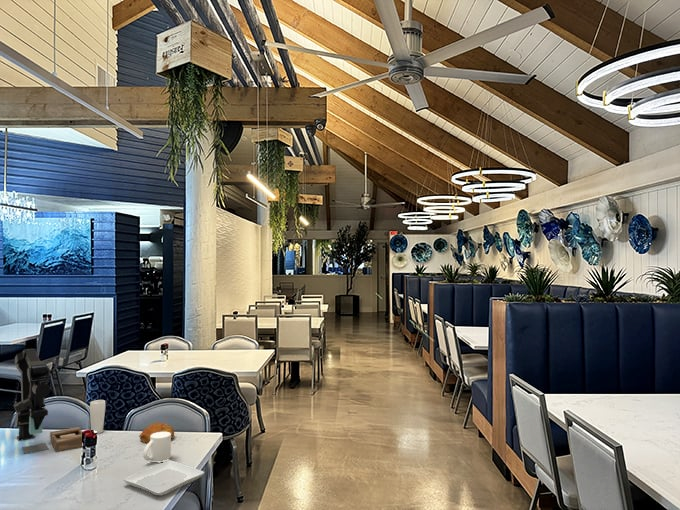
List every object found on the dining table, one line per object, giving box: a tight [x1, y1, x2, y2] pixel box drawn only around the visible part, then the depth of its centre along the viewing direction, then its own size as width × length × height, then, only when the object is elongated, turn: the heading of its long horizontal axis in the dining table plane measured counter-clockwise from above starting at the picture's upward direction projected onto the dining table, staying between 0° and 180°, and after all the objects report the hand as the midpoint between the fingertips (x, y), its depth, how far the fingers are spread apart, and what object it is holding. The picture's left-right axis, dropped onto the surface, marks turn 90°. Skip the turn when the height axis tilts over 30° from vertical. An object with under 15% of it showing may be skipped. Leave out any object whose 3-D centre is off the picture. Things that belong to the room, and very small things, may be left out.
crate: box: [49, 426, 83, 453], centre depth 219 cm, size 16×12×5 cm
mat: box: [21, 442, 49, 455], centre depth 213 cm, size 9×9×1 cm
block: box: [29, 417, 44, 435], centre depth 213 cm, size 4×4×7 cm
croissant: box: [138, 422, 175, 444], centre depth 228 cm, size 14×16×8 cm
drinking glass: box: [89, 399, 106, 435], centre depth 235 cm, size 7×7×15 cm
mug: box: [142, 432, 172, 462], centre depth 201 cm, size 8×10×12 cm
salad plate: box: [122, 459, 205, 496], centre depth 180 cm, size 21×21×3 cm
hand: (35, 428), depth 213 cm, fingers closed on block, 4 cm apart
